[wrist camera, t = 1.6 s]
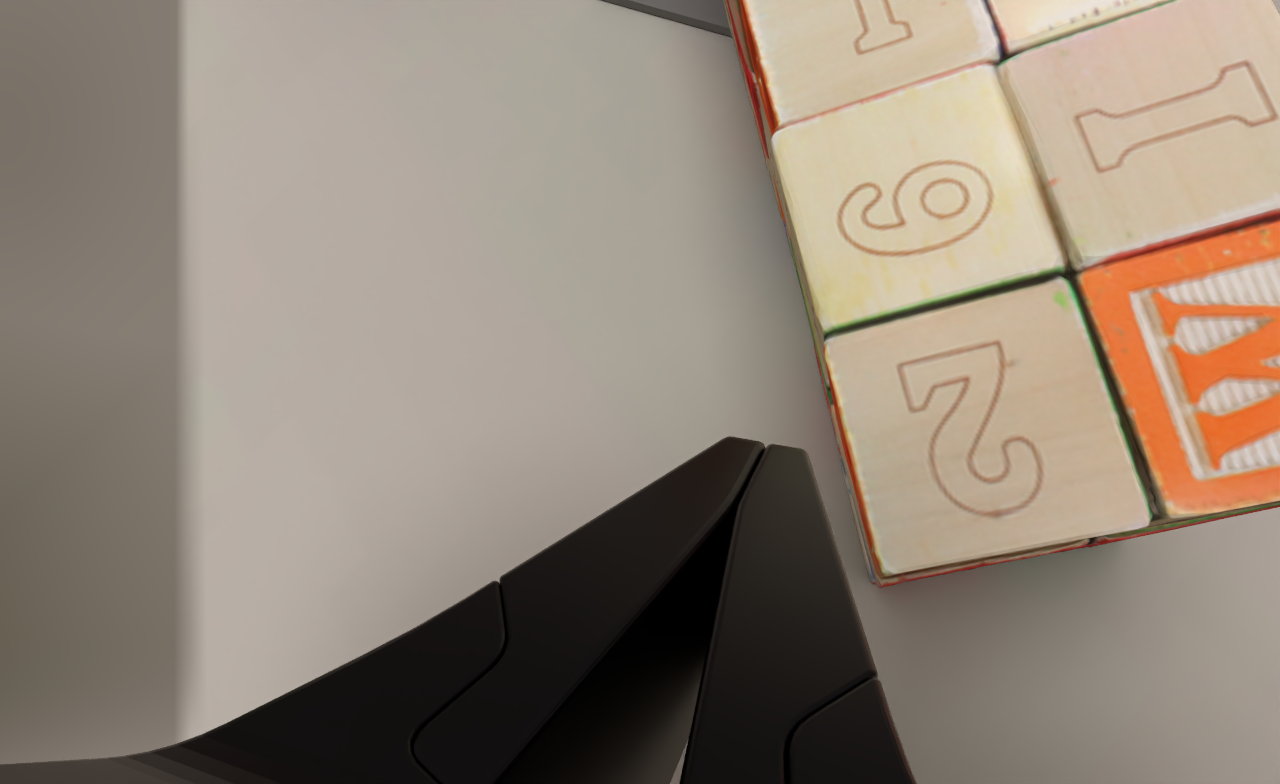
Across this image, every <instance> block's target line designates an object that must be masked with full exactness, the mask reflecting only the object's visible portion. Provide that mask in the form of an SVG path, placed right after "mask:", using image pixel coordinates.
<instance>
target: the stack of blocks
mask: <svg viewBox="0 0 1280 784" xmlns="http://www.w3.org/2000/svg"><path fill="white" fill-rule="evenodd" d="M723 1H724V5H725V9H726V14H727V18H728V23H729V26H730V30H731V34H732V37H733V41H734V45H735V49H736V52H737V56H738V60H739V63H740V67H741V71H742V74H743V78H744V82H745V85H746V89H747V93H748V97H749V100H750V104H751V108H752V110H753V113H754V117H755V121H756V125H757V129H758V133H759V137H760V140H761V144H762V148H763V152H764V156H765V161H766V165H767V168H768V169H769V173H770V176H771V180H772V184H773V188H774V192H775V196H776V200H777V203H778V207H779V211H780V215H781V217H782V219H783V221H784V225H785V229H786V234H787V238H788V242H789V246H790V250H791V253H792V257H793V260H794V264H795V267H796V271H797V275H798V279H799V283H800V287H801V290H802V294H803V299H804V304H805V308H806V312H807V316H808V320H809V324H810V328H811V332H812V336H813V342H814V348H815V353H816V358H817V363H818V367H819V371H820V375H821V379H822V384H823V388H824V392H825V396H826V400H827V404H828V408H829V412H830V416H831V420H832V425H833V428H834V433H835V437H836V441H837V445H838V449H839V453H840V461H841V466H842V471H843V475H844V479H845V483H846V487H847V491H848V495H849V499H850V503H851V507H852V511H853V515H854V519H855V523H856V527H857V531H858V535H859V539H860V543H861V547H862V551H863V555H864V559H865V563H866V568H867V572H868V576H869V579H870V581H871V583H872V584H876V585H877V586H878V587H879V588H882V587H886V586H891V585H895V584H899V583H902V582H907V581H912V580H917V579H922V578H927V577H932V576H937V575H943V574H948V573H952V572H957V571H963V570H969V569H974V568H977V567H981V566H986V565H992V564H998V563H1004V562H1009V561H1015V560H1021V559H1026V558H1032V557H1036V556H1041V555H1045V554H1050V553H1058V552H1064V551H1068V550H1073V549H1077V548H1085V547H1093V546H1098V545H1102V544H1106V543H1111V542H1116V541H1121V540H1126V539H1130V538H1135V537H1140V536H1145V535H1150V534H1154V533H1159V532H1164V531H1169V530H1173V529H1178V528H1182V527H1187V526H1192V525H1196V524H1201V523H1205V522H1210V521H1215V520H1219V519H1224V518H1229V517H1233V516H1238V515H1243V514H1248V513H1253V512H1257V511H1262V510H1267V509H1272V508H1276V507H1280V14H1279V12H1278V10H1277V8H1276V7H1275V5H1274V3H1273V1H1272V0H723Z"/></svg>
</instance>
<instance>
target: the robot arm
mask: <svg viewBox="0 0 1280 784" xmlns="http://www.w3.org/2000/svg"><path fill="white" fill-rule="evenodd" d="M499 581H500V584H499V582H497V581H492V582H491V583H489V584H487V585H486V586H484V587H483V588H481V589H479V590H478V591H476V592H475V593H473V594H471V595H470V596H468V597H466V598H465V599H463V600H461V601H460V602H458V603H456V604H455V605H453V606H451V607H449V608H448V609H446V610H444V611H443V612H441V613H439V614H438V615H436V616H434V617H432V618H431V619H429V620H427V621H426V622H424V623H422V624H420V625H419V626H417V627H415V628H413V629H411V630H409V631H408V632H406V633H404V634H402V635H400V636H398V637H396V638H394V639H392V640H390V641H389V642H387V643H385V644H383V645H381V646H379V647H377V648H375V649H373V650H371V651H370V652H368V653H366V654H364V655H362V656H360V657H358V658H356V659H354V660H352V661H350V662H348V663H346V664H344V665H342V666H340V667H338V668H336V669H334V670H332V671H330V672H328V673H326V674H324V675H322V676H320V677H318V678H316V679H314V680H312V681H310V682H308V683H306V684H304V685H302V686H300V687H298V688H296V689H294V690H292V691H290V692H288V693H286V694H284V695H282V696H280V697H278V698H276V699H274V700H272V701H270V702H268V703H266V704H264V705H262V706H260V707H258V708H256V709H254V710H252V711H250V712H248V713H246V714H244V715H242V716H240V717H238V718H236V719H234V720H232V721H230V722H228V723H226V724H224V725H221V726H219V727H217V728H215V729H213V730H210V731H208V732H206V733H204V734H202V735H199V736H196V737H194V738H191V739H188V740H185V741H183V742H180V743H177V744H174V745H171V746H167V747H164V748H160V749H157V750H153V751H149V752H143V753H138V754H133V755H126V756H119V757H109V758H97V759H81V760H65V761H49V762H33V763H17V764H3V765H2V764H1V765H0V784H670V782H671V779H672V777H673V774H674V772H675V770H676V767H677V765H678V762H679V760H680V758H681V755H682V753H683V750H684V748H685V745H686V743H687V741H688V745H687V749H686V754H685V759H684V764H683V769H682V774H681V779H680V784H917V783H916V780H915V778H914V776H913V774H912V771H911V769H910V766H909V763H908V761H907V758H906V755H905V752H904V750H903V747H902V744H901V741H900V738H899V736H898V733H897V730H896V727H895V725H894V722H893V719H892V716H891V713H890V710H889V707H888V704H887V701H886V698H885V694H884V691H883V688H882V685H881V682H880V681H879V680H878V679H877V677H878V675H877V671H876V668H875V664H874V661H873V658H872V655H871V652H870V649H869V645H868V642H867V639H866V636H865V633H864V630H863V627H862V623H861V620H860V617H859V614H858V611H857V608H856V604H855V601H854V598H853V595H852V592H851V589H850V586H849V582H848V579H847V576H846V573H845V570H844V567H843V563H842V560H841V557H840V554H839V551H838V548H837V545H836V541H835V538H834V535H833V532H832V529H831V526H830V522H829V519H828V516H827V513H826V510H825V507H824V504H823V500H822V497H821V494H820V491H819V488H818V485H817V481H816V478H815V475H814V472H813V469H812V466H811V463H810V459H809V456H808V454H807V452H806V451H804V450H803V449H798V448H792V447H787V446H781V445H775V444H771V445H768V446H767V447H766V449H765V446H764V444H763V443H762V442H759V441H753V440H748V439H742V438H737V437H726V438H724V439H722V440H720V441H719V442H717V443H715V444H714V445H712V446H711V447H709V448H707V449H706V450H704V451H703V452H701V453H699V454H698V455H696V456H694V457H693V458H691V459H690V460H688V461H686V462H685V463H683V464H682V465H680V466H678V467H677V468H675V469H673V470H672V471H670V472H669V473H667V474H665V475H664V476H662V477H661V478H659V479H657V480H656V481H654V482H653V483H651V484H649V485H648V486H646V487H644V488H643V489H641V490H640V491H638V492H636V493H635V494H633V495H632V496H630V497H628V498H627V499H625V500H623V501H622V502H620V503H619V504H617V505H615V506H614V507H612V508H611V509H609V510H607V511H606V512H604V513H603V514H601V515H599V516H598V517H596V518H594V519H593V520H591V521H590V522H588V523H586V524H585V525H583V526H582V527H580V528H578V529H577V530H575V531H573V532H572V533H570V534H569V535H567V536H565V537H564V538H562V539H561V540H559V541H557V542H556V543H554V544H552V545H551V546H549V547H548V548H546V549H544V550H543V551H541V552H540V553H538V554H536V555H535V556H533V557H532V558H530V559H528V560H527V561H525V562H523V563H522V564H520V565H519V566H517V567H515V568H514V569H512V570H511V571H509V572H507V573H506V574H504V575H502V576H501V577H500V580H499ZM688 738H689V740H688Z"/></svg>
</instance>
